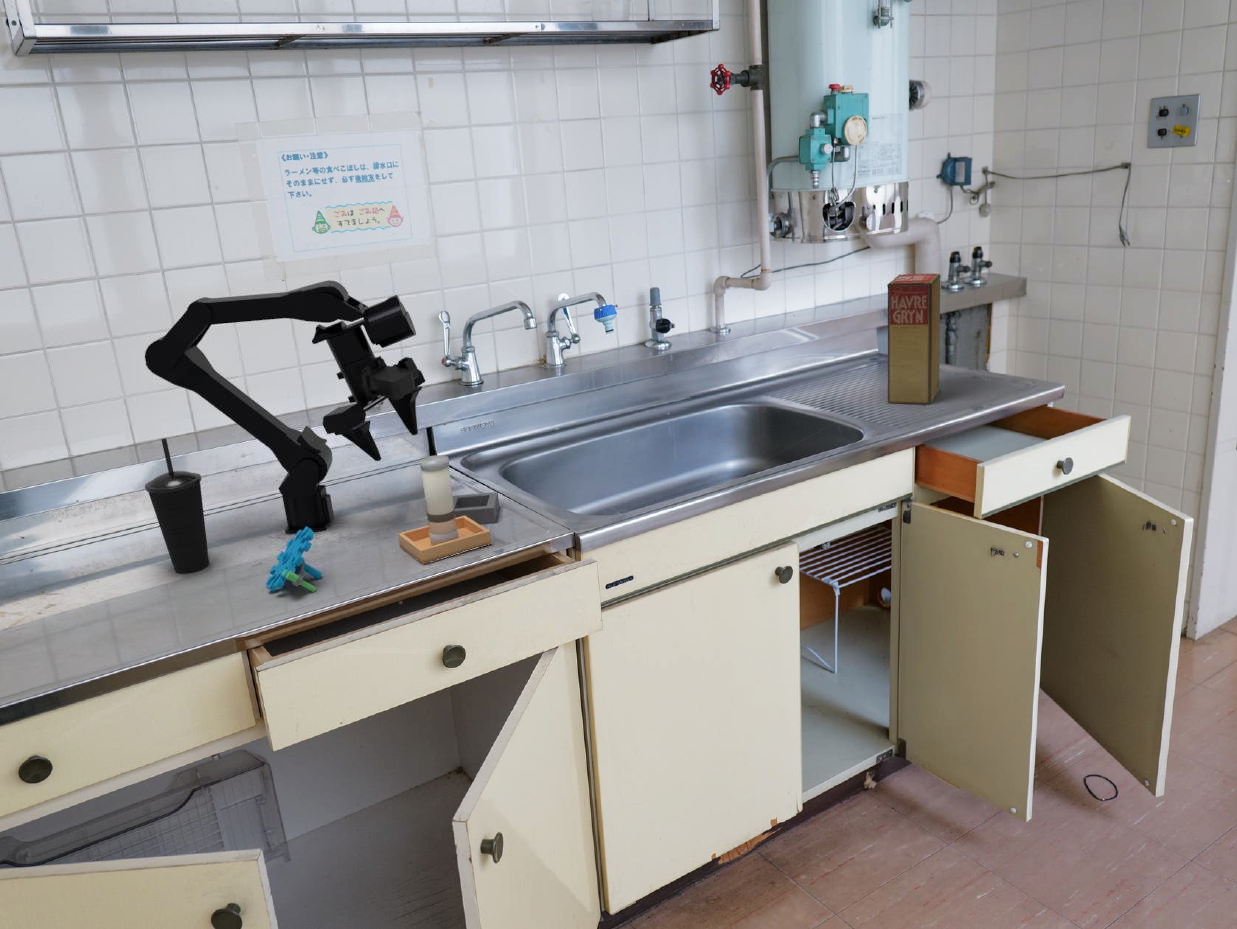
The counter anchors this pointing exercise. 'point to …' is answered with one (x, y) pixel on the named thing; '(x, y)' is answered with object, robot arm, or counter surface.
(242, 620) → the counter surface
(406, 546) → the tray
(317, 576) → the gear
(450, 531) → the cylinder
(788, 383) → the counter surface
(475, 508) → the socket block
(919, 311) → the food packaging
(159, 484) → the drinking cup
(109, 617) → the counter surface
